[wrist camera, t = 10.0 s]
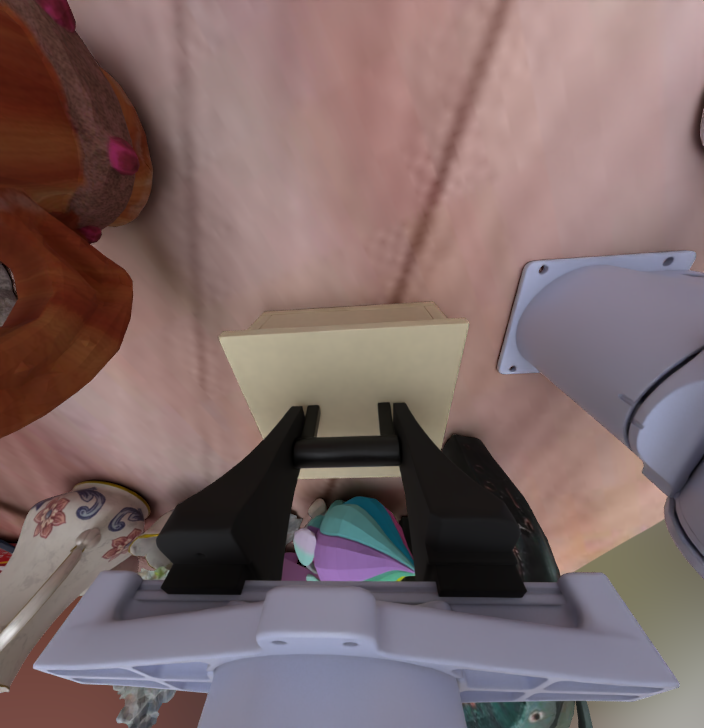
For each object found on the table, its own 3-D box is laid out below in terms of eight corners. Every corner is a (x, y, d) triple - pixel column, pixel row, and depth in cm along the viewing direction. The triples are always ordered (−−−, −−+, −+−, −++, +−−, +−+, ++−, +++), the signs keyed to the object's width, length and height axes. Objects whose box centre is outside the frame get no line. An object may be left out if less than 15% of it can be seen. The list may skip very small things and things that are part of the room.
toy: (347, 554, 32) (462, 566, 24) (294, 627, 25) (434, 684, 16) (320, 483, 33) (421, 470, 24) (260, 532, 26) (376, 538, 17)
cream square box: (263, 311, 17) (238, 337, 14) (433, 301, 17) (454, 325, 13) (295, 431, 23) (283, 472, 20) (420, 427, 23) (432, 468, 19)
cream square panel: (222, 330, 12) (170, 388, 9) (465, 317, 11) (510, 372, 8) (282, 472, 19) (266, 533, 16) (433, 468, 19) (449, 531, 15)
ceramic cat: (423, 539, 33) (496, 900, 15) (376, 533, 32) (396, 900, 15) (501, 435, 23) (957, 1137, 5) (433, 423, 22) (702, 1163, 5)
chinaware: (153, 554, 40) (59, 740, 27) (22, 523, 32) (-204, 762, 19) (260, 487, 30) (196, 732, 17) (107, 420, 23) (-241, 771, 9)
